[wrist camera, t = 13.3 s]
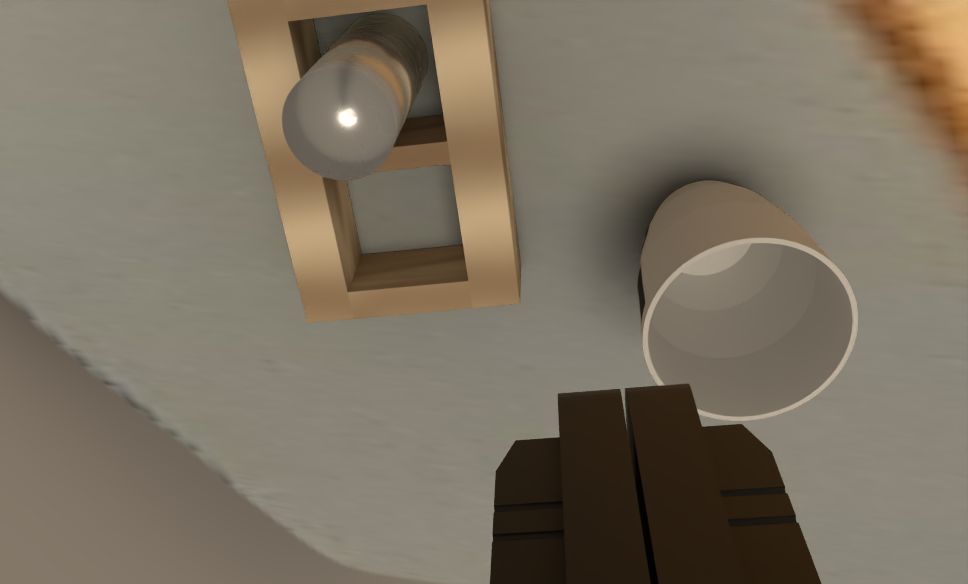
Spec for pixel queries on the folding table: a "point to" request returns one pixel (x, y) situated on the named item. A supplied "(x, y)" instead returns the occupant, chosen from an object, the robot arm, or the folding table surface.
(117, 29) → the folding table surface
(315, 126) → the grey rounded cylinder
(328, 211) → the frame
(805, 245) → the cup
